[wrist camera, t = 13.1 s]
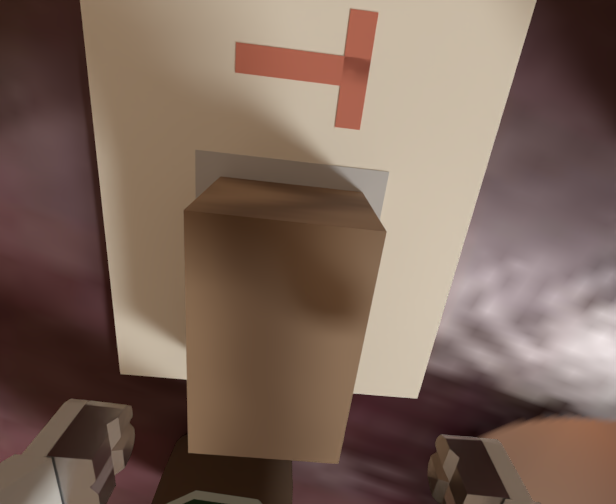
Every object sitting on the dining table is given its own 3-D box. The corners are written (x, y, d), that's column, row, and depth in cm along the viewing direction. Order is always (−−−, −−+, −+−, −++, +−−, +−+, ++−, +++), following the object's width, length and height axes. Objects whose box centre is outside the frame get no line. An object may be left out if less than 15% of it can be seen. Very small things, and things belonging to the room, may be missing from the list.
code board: (583, -199, 12) (603, -221, 11) (413, 387, 21) (417, 399, 20) (63, -288, 11) (44, -318, 10) (127, 363, 20) (119, 374, 19)
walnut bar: (362, 192, 15) (386, 231, 11) (330, 376, 19) (338, 463, 15) (220, 176, 15) (183, 210, 11) (216, 367, 19) (188, 452, 14)
